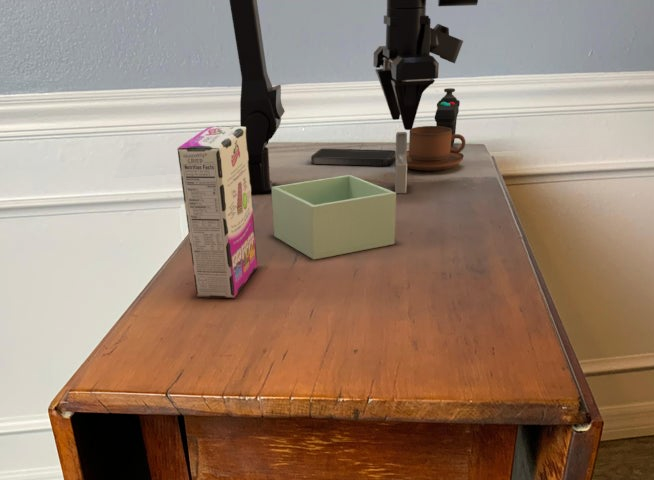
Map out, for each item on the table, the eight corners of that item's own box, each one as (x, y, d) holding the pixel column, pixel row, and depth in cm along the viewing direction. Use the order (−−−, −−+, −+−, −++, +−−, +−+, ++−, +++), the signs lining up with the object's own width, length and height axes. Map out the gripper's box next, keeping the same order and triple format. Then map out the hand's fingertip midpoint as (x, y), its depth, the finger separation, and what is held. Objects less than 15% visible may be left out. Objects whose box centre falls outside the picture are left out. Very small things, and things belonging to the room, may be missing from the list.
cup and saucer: (443, 157, 148) (446, 121, 144) (474, 170, 139) (478, 132, 135) (384, 164, 145) (385, 127, 141) (412, 178, 136) (413, 139, 132)
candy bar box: (220, 266, 101) (206, 125, 91) (258, 267, 100) (248, 125, 90) (193, 298, 92) (175, 145, 82) (234, 299, 91) (221, 145, 82)
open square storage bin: (274, 236, 111) (271, 186, 107) (350, 222, 115) (350, 174, 111) (313, 259, 102) (312, 206, 98) (394, 244, 106) (396, 192, 102)
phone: (389, 159, 143) (309, 156, 146) (389, 166, 143) (309, 163, 147) (398, 150, 149) (321, 148, 152) (397, 156, 149) (321, 154, 153)
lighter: (406, 193, 128) (408, 139, 123) (395, 193, 128) (397, 139, 123) (404, 182, 133) (406, 130, 129) (394, 182, 134) (396, 130, 129)
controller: (457, 143, 158) (461, 86, 153) (453, 156, 149) (458, 96, 143) (436, 142, 159) (439, 86, 153) (430, 156, 149) (433, 96, 144)
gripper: (478, 9, 109) (468, 132, 118) (443, 2, 124) (437, 112, 133) (398, 12, 108) (394, 136, 117) (373, 5, 123) (371, 115, 132)
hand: (401, 124), depth 125 cm, fingers open, 9 cm apart
